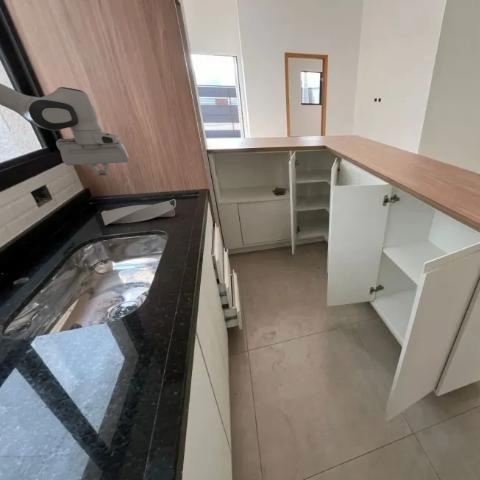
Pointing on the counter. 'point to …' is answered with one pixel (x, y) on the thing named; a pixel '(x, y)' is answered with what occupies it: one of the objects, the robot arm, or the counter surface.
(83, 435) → the counter surface
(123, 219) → the grey twisted bar
